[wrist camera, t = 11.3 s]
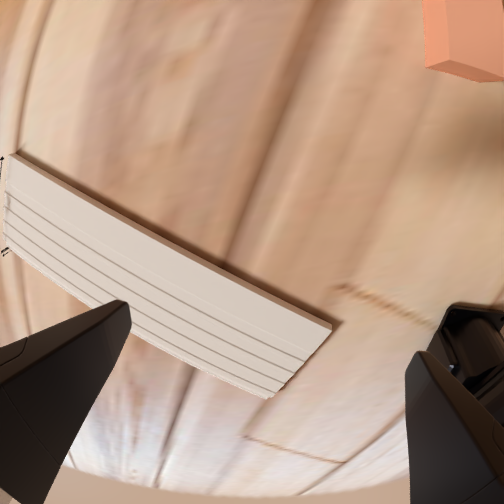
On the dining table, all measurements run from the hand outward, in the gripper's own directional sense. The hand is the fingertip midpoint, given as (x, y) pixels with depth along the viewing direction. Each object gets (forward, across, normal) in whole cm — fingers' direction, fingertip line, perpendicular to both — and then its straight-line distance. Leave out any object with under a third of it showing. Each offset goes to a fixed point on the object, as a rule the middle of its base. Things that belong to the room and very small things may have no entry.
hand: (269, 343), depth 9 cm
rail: (+12, -8, -19) cm, 24 cm away
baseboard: (+13, +12, +8) cm, 20 cm away
